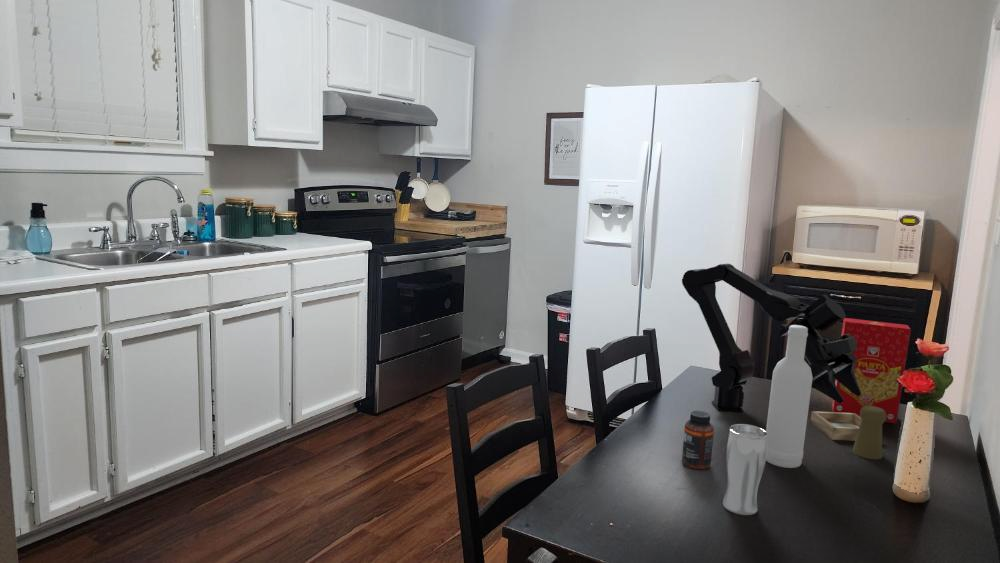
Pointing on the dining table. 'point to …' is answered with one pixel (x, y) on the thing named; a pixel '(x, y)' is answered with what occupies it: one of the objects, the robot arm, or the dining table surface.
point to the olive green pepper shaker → (870, 433)
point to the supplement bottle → (698, 441)
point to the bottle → (789, 403)
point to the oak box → (837, 424)
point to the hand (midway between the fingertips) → (851, 398)
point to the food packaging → (875, 366)
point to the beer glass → (744, 467)
